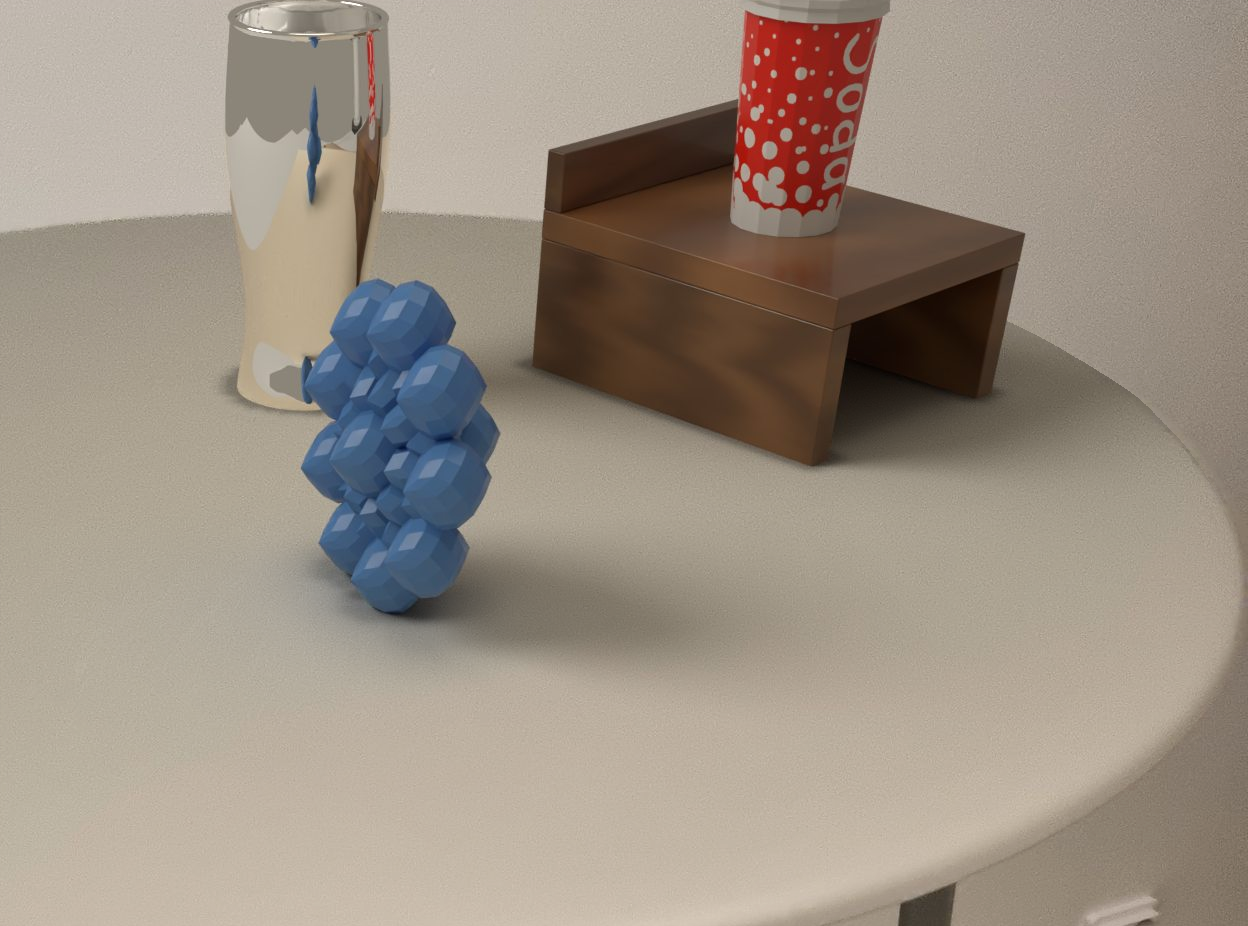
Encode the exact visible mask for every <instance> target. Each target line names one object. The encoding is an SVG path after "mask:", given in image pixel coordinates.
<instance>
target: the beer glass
mask: <svg viewBox="0 0 1248 926" xmlns="http://www.w3.org/2000/svg"><path fill="white" fill-rule="evenodd" d="M389 22H390V15H389V14H388V12H387V11H385V10H384V9H383V8H381V7H379V6H377V5H373V4H372V3H371V4H370V3H366V2H362V1H357V0H255V1H251V2H247V3H243V4H240V5H238V6H236V7H234V8H233V9H231V10H229V12H228V14H227V39H226V40H227V41H226V55H225V56H226V57H225V73H224V92H223V141H224V162H225V164H224V165H225V172H226V180H227V181H226V182H227V188H228V196H229V202H230V208H231V215H232V220H233V227H234V233H235V239H236V244H237V250H238V255H239V261H240V269H241V274H242V282H243V289H244V304H245V305H244V306H245V307H244V308H245V316H244V319H245V320H244V321H245V322H244V323H245V324H244V335H243V343H242V349H241V355H240V361H239V367H238V374H237V380H236V381H237V382H236V389H237V391H238V392H239V394H240V395H241V396H242V397H244V398H245V399H246V400H248V401H250V402H253V403H254V404H257V405H261V406H265V407H269V408H273V409H279V410H286V411H287V410H288V411H302V412H303V411H306V412H308V411H310V412H311V411H322V409H321V408H320V407H319V406H318V405H317V404H316V403H315V402H314V400H313V399H312V398H311V396H310V395H309V393H308V391H307V390H306V388H305V387H304V385H305V383H306V380H307V378H308V375H309V373H310V371H311V369H312V367H313V365H314V364H315V362H316V360H317V358H318V356H319V355H320V353H321V352H322V351H323V350H324V349H325V348H326V347H327V346H328V345H329V344H330V343H331V342H332V341H333V340H334V339H333V337H332V336H331V334H330V329H331V327H332V324H333V322H334V319H335V317H336V315H337V313H338V312H339V310H340V308H341V306H342V304H343V302H344V301H345V299H346V298H347V297H348V295H349V294H351V293H352V292H353V291H354V290H355V289H356V288H357V287H358V286H359V285H360V284H361V283H362V282H365V281H369V280H370V273H371V268H372V262H373V257H374V251H375V246H376V242H377V236H378V230H379V225H380V220H381V215H382V210H383V205H384V204H383V203H384V198H385V193H386V184H387V178H388V170H389V163H390V150H391V149H390V148H391V134H392V133H391V132H392V126H391V125H392V87H391V85H392V84H391V83H392V82H391V81H392V80H391V60H390V59H391V58H390V57H391V55H390V36H389V35H390V32H389Z"/></svg>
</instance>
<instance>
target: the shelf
mask: <svg viewBox="0 0 1248 926" xmlns="http://www.w3.org/2000/svg"><path fill="white" fill-rule="evenodd" d="M738 99H739V98H736V99H733V100H729V101H725V102H721V103H717V104H714V105H711V106H707V107H702V108H699V109H695V110H691V111H688V112H683V113H680V114H677V115H673V116H669V117H665V118H662V119H657V120H654V121H651V122H646V123H643V124H639V125H636V126H632V127H628V128H624V129H620V130H616V131H613V132H609V133H606V134H605V133H604V134H602V135H598V136H594V137H590V138H587V139H583V140H579V141H576V142H575V141H574V142H572V143H568V144H565V145H560V146H557V147H552V148H549V149H548V151H547V161H546V163H547V164H546V176H545V190H544V201H543V202H544V203H543V208H544V209H543V215H542V226H541V227H542V229H541V243H540V254H539V255H540V256H539V269H538V282H537V295H536V296H537V297H536V310H535V321H534V322H535V323H534V336H533V346H532V347H533V349H532V359H531V360H532V361H531V367H533V368H536V369H538V370H541V371H544V372H547V373H549V374H552V375H555V376H558V377H560V378H563V379H566V380H569V381H573V382H574V383H576V384H577V383H578V384H580V385H583V386H585V387H589V388H591V389H594V390H597V391H598V392H599V391H600V392H602V393H605V394H608V395H611V396H613V397H615V398H619V399H622V400H624V401H627V402H630V403H633V404H636V405H638V406H641V407H644V408H646V409H650V410H652V411H655V412H658V413H661V414H664V415H666V416H669V417H672V418H674V419H676V420H680V421H682V422H686V423H689V424H692V425H694V426H696V427H699V428H703V429H706V430H708V431H711V432H712V433H713V432H714V433H716V434H719V435H722V436H725V437H728V438H730V439H733V440H736V441H739V442H741V443H744V444H748V445H750V446H753V447H755V448H758V449H761V450H764V451H766V452H769V453H771V454H775V455H777V456H781V457H783V458H786V459H788V460H791V461H794V462H796V463H800V464H801V465H802V464H803V465H805V466H808V467H814V466H817V465H819V464H822V463H824V462H827V461H829V460H830V459H829V458H830V453H831V447H832V441H833V435H834V429H835V424H836V423H835V422H836V418H837V417H836V416H837V412H838V404H839V400H840V393H841V387H842V381H843V374H844V369H845V363H846V358H847V359H851V360H854V361H857V362H860V363H863V364H866V365H870V366H873V367H876V368H879V369H882V370H885V371H887V372H888V371H889V372H891V373H894V374H896V375H899V376H900V375H901V376H904V377H906V378H910V379H913V380H916V381H919V382H922V383H925V384H928V385H932V386H935V387H938V388H940V389H944V390H947V391H951V392H954V393H956V394H960V395H963V396H966V397H969V398H971V399H975V400H978V399H980V398H982V397H984V396H985V397H986V396H987V395H989V394H992V392H993V386H994V382H995V376H996V372H997V367H998V362H999V358H1000V353H1001V350H1002V344H1003V339H1004V335H1005V332H1006V326H1007V321H1008V317H1009V312H1010V307H1011V302H1012V297H1013V292H1014V288H1015V282H1016V279H1017V276H1018V275H1017V274H1018V270H1019V265H1020V261H1021V257H1022V252H1023V248H1024V242H1025V237H1026V233H1025V232H1023V231H1019V230H1016V229H1011V228H1008V227H1005V226H1002V225H1001V226H1000V225H996V224H993V223H991V222H990V223H989V222H985V221H982V220H978V219H975V218H972V217H971V218H970V217H967V216H964V215H960V214H956V213H952V212H948V211H945V210H941V209H937V208H933V207H929V206H925V205H922V204H918V203H914V202H911V201H907V200H903V199H900V198H896V197H893V196H889V195H884V194H881V193H877V192H873V191H870V190H866V189H863V188H859V187H854V186H851V185H848V184H846V188H845V192H844V197H843V202H842V206H841V211H840V215H839V220H838V225H837V226H836V227H835V228H834V229H833V230H832V231H831V232H827V233H824V234H821V235H817V236H807V237H776V236H769V235H762V234H756V233H753V232H750V231H746V230H743V229H740V228H739V227H737V226H736V225H734V224H733V223H731V218H730V211H731V197H732V183H733V169H734V155H735V141H736V127H737V113H738Z"/></svg>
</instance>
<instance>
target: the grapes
mask: <svg viewBox="0 0 1248 926" xmlns="http://www.w3.org/2000/svg"><path fill="white" fill-rule="evenodd" d="M456 325H457V321H456V318H455V317H454V315H453V313H452V310H451V309H450V308H449V306H448V304H447V302H446V301H445V299H444V298H443V297H442V296H441V295H440V293H439V292H438V291H437V290H436V289H435V287H433V286H431V285H429V284H427V283H424V282H422V281H420V280H418V279H415V280H411V281H406V282H402V283H399V284H398V285H397V286H395V285H394V284H391V283H389V282H387V281H385V280H383V279H381V278H379V277H378V278H374V279H369V280H368V281H365V282H362V283H361V284H360V285H359V286H358V287H357V288H356V289H355V290H354V291H353V292H352V293H351V294H349V295H348V297H347V298H346V299H345V301H344V302H343V304H342V306H341V308H340V310H339V312H338V313H337V315H336V317H335V319H334V322H333V324H332V327H331V329H330V334H331V336H332V337H333V339H334V340H333V341H332V342H331V343H330V344H329V345H328V346H327V347H326V348H325V349H324V350H323V351H322V352H321V353H320V355H319V356H318V358H317V360H316V362H315V364H314V365H313V367H312V369H311V371H310V373H309V375H308V378H307V380H306V383H305V385H304V387H305V388H306V390H307V391H308V393H309V395H310V396H311V398H312V399H313V400H314V402H315V403H316V404H317V405H318V406H319V407H320V408H321V409H322V410H321V411H322V412H323V414H325V415H326V416H327V417H328V418H330V419H332V421H330V422H329V423H328V424H327V425H326V426H324V427H323V429H322V430H320V431H319V432H318V433H317V434H316V436H315V438H314V439H313V441H312V443H311V445H310V446H309V448H308V450H307V452H306V454H305V456H304V458H303V460H302V464H301V466H300V470H301V471H302V473H303V475H304V476H305V478H306V479H307V480H308V481H309V483H310V484H311V485H312V486H313V487H314V488H315V489H316V491H318V493H320V494H321V495H322V497H324V498H326V499H328V500H330V501H332V502H334V503H337V504H338V505H337V507H336V508H335V509H334V511H333V512H332V514H331V516H330V518H329V519H328V521H327V522H326V525H324V526H325V527H324V528H323V530H322V533H321V535H320V538H319V540H318V545H319V547H320V548H321V549H322V551H323V552H324V554H325V555H326V556H327V557H328V558H329V559H330V560H331V562H333V564H334V565H335V566H336V567H337V568H338V569H339V570H340V571H342V572H344V573H345V574H348V575H350V576H351V579H350V583H351V585H352V586H353V588H355V590H356V591H357V593H358V594H359V595H360V596H361V597H362V598H363V599H364V600H365V601H366V603H367V604H369V606H370V607H372V608H374V609H376V610H378V611H381V612H383V613H384V614H385V613H386V614H387V613H388V614H389V613H390V614H392V613H393V614H394V613H395V614H397V613H398V614H403V613H405V612H406V611H407V610H409V609H410V608H411V607H412V606H413V605H415V604H416V603H417V602H418V600H419V598H420V599H421V600H422V599H430V598H437V597H440V596H441V595H442V594H443V593H445V591H447V590H448V589H449V588H450V587H452V586H453V585H454V583H455V581H456V579H457V577H458V576H459V574H460V572H461V571H462V570H463V567H464V565H465V562H466V560H467V557H468V554H469V551H470V549H471V547H470V546H469V545H470V544H469V543H468V542H467V540H466V538H465V537H464V535H463V533H461V531H460V530H459V529H460V527H462V526H463V525H464V524H465V523H466V522H468V521H469V520H470V519H471V518H473V517H474V515H475V514H476V512H477V510H478V508H479V507H480V505H481V504H482V502H483V500H484V498H485V496H486V495H487V492H488V489H489V486H490V484H491V482H492V478H493V476H492V475H491V473H490V471H489V469H488V467H487V466H486V465H487V463H488V462H489V461H490V459H491V457H492V455H493V453H494V452H495V449H496V447H497V444H498V442H499V439H500V436H501V431H500V429H499V427H498V425H497V424H496V422H495V419H494V418H493V416H492V415H491V413H490V412H489V411H488V410H487V409H486V408H485V406H484V405H483V404H482V401H483V398H484V395H485V393H486V390H487V388H488V385H487V383H486V381H485V379H484V377H483V375H482V374H481V372H480V370H479V368H478V366H477V364H475V363H474V361H473V360H472V359H471V358H470V356H468V354H467V353H466V352H465V351H464V350H462V349H459V348H457V347H455V346H452V345H450V344H449V342H450V340H451V338H452V335H453V333H454V330H455V327H456Z"/></svg>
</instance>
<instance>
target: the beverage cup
mask: <svg viewBox="0 0 1248 926" xmlns="http://www.w3.org/2000/svg"><path fill="white" fill-rule="evenodd" d="M739 5H740V8H741V9H742V10H744V15H743V16H744V17H743V32H742V43H741V45H742V47H741V60H740V73H739V87H738V88H739V89H738V98H737V99H738V113H737V127H736V141H735V155H734V169H733V183H732V197H731V211H730V218H731V223H733V224H734V225H736V226H737V227H739V228H740V229H743V230H746V231H750V232H753V233H756V234H762V235H769V236H776V237H807V236H817V235H821V234H824V233H827V232H831V231H832V230H833V229H834V228H835V227H836V226H837V225H838V220H839V215H840V211H841V206H842V202H843V197H844V192H845V188H846V185H847V183H848V178H849V173H850V169H851V166H852V165H851V164H852V160H853V155H854V152H855V146H856V141H857V137H858V132H859V128H860V124H861V118H862V114H863V109H864V104H865V100H866V95H867V90H868V87H869V82H870V77H871V72H872V68H873V63H874V58H875V53H876V49H877V45H878V40H879V36H880V31H881V26H882V21H883V18H884V16H886V15H887V14H888V13H890V12H891V0H739Z"/></svg>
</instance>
